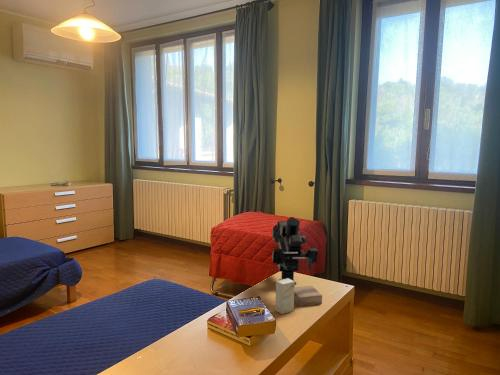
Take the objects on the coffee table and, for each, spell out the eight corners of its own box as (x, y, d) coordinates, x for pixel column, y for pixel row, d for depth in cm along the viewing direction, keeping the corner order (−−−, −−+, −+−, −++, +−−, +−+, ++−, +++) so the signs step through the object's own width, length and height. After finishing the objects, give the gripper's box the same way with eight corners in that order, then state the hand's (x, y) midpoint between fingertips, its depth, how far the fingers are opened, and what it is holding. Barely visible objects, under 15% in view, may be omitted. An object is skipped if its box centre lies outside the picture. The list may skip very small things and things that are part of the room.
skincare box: (281, 314, 146) (282, 284, 144) (274, 310, 150) (275, 280, 148) (294, 310, 149) (295, 281, 147) (287, 306, 153) (288, 277, 151)
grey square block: (290, 296, 163) (290, 287, 162) (311, 294, 165) (312, 285, 165) (299, 307, 153) (299, 297, 153) (321, 304, 156) (322, 295, 155)
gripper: (272, 229, 160) (276, 253, 147) (315, 229, 162) (324, 253, 148) (270, 250, 166) (274, 275, 152) (312, 249, 167) (320, 274, 154)
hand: (298, 269), depth 151 cm, fingers open, 9 cm apart
